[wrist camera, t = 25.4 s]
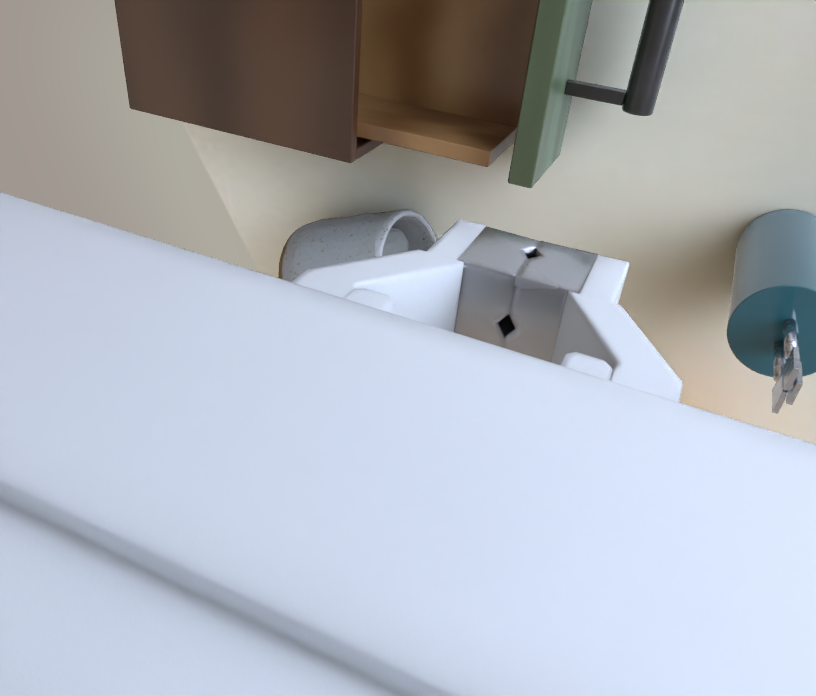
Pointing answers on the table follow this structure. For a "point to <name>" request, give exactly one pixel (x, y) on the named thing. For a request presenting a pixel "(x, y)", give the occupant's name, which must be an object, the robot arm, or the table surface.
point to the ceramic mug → (353, 240)
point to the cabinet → (250, 68)
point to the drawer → (491, 76)
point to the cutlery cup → (776, 300)
